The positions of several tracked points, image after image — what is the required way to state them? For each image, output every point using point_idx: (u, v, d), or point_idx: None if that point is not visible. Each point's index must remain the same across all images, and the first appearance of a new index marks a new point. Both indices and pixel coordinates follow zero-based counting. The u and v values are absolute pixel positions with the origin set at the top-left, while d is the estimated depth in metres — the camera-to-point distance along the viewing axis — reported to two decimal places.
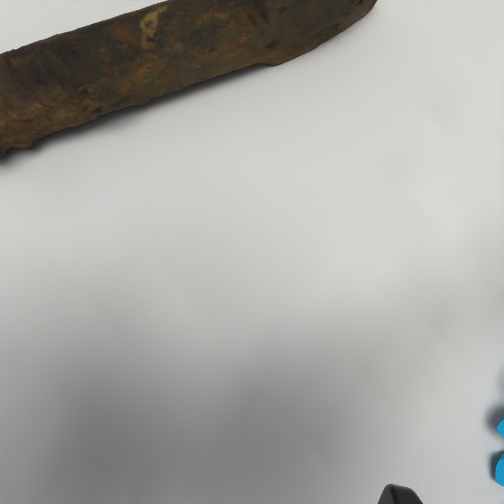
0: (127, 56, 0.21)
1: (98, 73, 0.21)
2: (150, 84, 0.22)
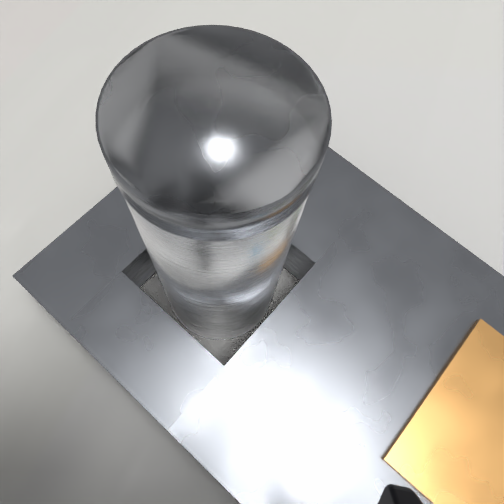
0: None
1: None
2: None
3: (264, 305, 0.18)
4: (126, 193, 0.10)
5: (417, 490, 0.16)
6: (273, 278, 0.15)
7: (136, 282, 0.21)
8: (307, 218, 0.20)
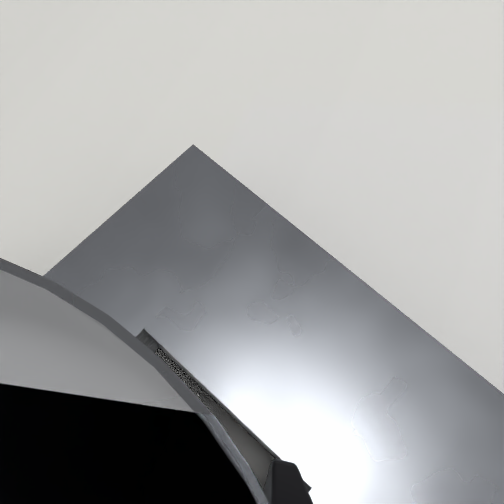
0: None
1: None
2: None
3: None
4: None
5: None
6: None
7: None
8: (298, 395, 0.12)
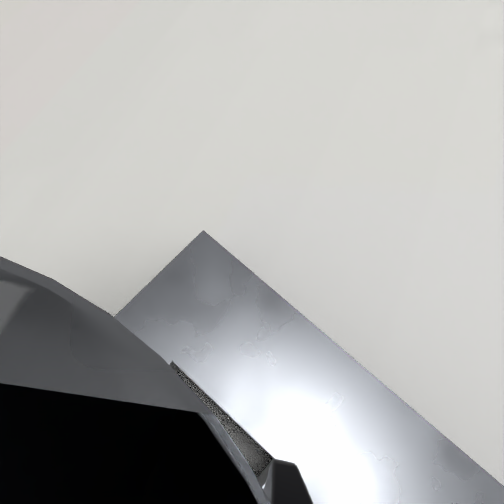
0: None
1: None
2: None
3: None
4: None
5: None
6: None
7: None
8: (272, 404, 0.18)
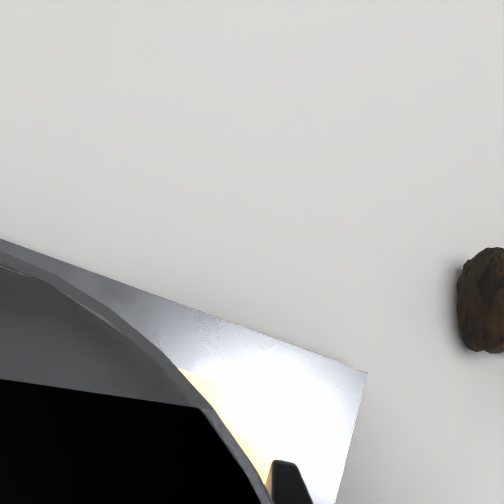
0: None
1: None
2: None
3: None
4: None
5: None
6: None
7: None
8: None
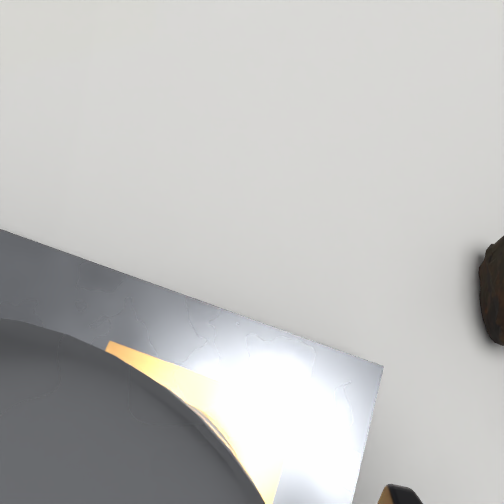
0: None
1: None
2: None
3: None
4: None
5: None
6: None
7: None
8: None
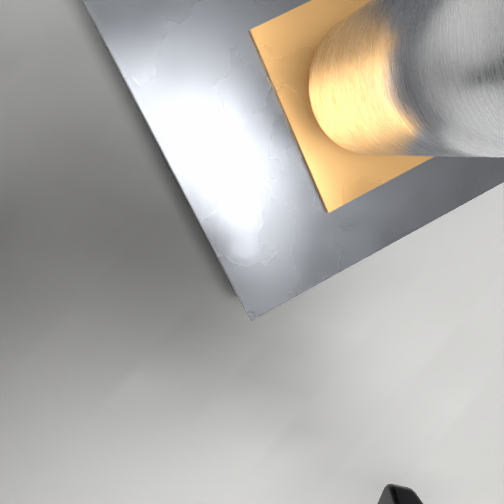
0: None
1: None
2: None
3: None
4: None
5: (268, 75, 0.16)
6: None
7: None
8: None
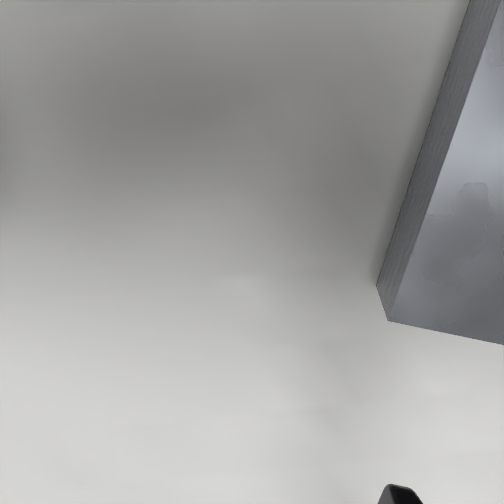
0: None
1: None
2: None
3: None
4: None
5: None
6: None
7: None
8: None
